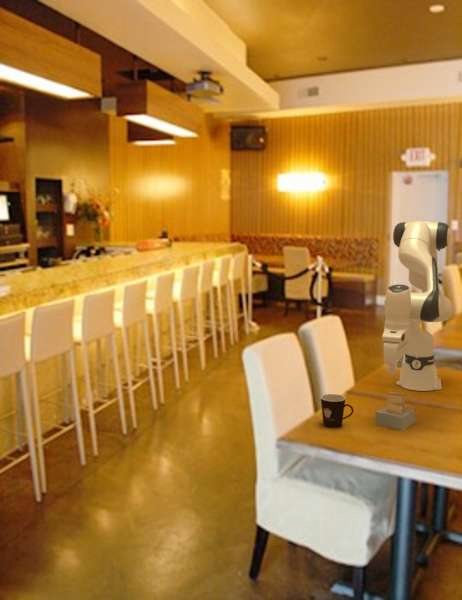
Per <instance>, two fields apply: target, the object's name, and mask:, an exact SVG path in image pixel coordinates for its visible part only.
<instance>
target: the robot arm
mask: <svg viewBox="0 0 462 600" xmlns="http://www.w3.org/2000/svg"><path fill="white" fill-rule="evenodd" d="M451 238H452V232H451V229H450V226H449V225H448V223H445V222H440V221H438V222H435V221H425V220H424V221H423V220H422V221H420V220H416V221H410V222H408V221H407V222H406V221H404V222H399V223H397V224H396V225H395V226H394V229H393V231H392V241H393V244H394V245H395V246H396V247H397V248H398V259H399V262H400V263H401V264H402V265H403V266H404V267H405V268H406V269H408V282H409V284H411V286H413V287H414V288H416V289H418V290H421V292H413V291H412V292H411V288H410V286H408V285H405V284H393V285H389V286H388V288H387V290H386V294H385V300H384V313H385V318H384V322H383V323H384V326H383V333H382V336H381V341H382V342H383V348H382V349H383V361H384V363H385V365H388V369H389V375H391V376H395V375H396V374H397V369H400V376H399V380H397V381H396V382H395V384H396V385H398V386H400V387H402V388H404V389H407V390H410V391H417V392H427V391H428V392H429V391H438V390H442V388H443V387H442V381H441V380H442V379H441V378H440V377H438V376H437V373H438V371H437V370H438V369H437V368H436V365H435V355H434V345H435V344H434V342H435V341H434V336H433V334H431V333H430V332H429V331H427V330H425V329H423V328H421V323H439V322H445V321H448V320H450V318H451V317H452V315H453V312H454V306H453V304H452V301H451V300H450V299H449V297H447V296H446V295H445V294H443V292H442V290H441V289H440V283H439V270H438V252H440V251H441V250H444V249H446V248H447V247H448V246H449V244H450V241H451Z"/></svg>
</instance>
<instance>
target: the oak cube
mask: <svg viewBox="0 0 462 600" xmlns="http://www.w3.org/2000/svg"><path fill="white" fill-rule="evenodd" d="M386 398H387V399H386V406H387V412H389V413H397V414H402V412H403V411H404V408H405V393H404V392H396V391H395V392H394V391H389V393H388V394H387V396H386Z"/></svg>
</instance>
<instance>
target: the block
mask: <svg viewBox="0 0 462 600" xmlns="http://www.w3.org/2000/svg"><path fill="white" fill-rule="evenodd" d="M415 415H416V410H415V409H411V408H406V407H404V411H403V412H402V414H397V413H389V412H387V405H386V406H384V407H382V408H380V409H377V410H376V412H375V425H376V426H381V427H385V428H388V429H393V430H397V431H398V430H399V431H402V432H403V431H405V429H407V428H409V427H411V426H412V425H414V424H415V423H416V419H415V418H416V416H415Z"/></svg>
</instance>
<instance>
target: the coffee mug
mask: <svg viewBox="0 0 462 600" xmlns="http://www.w3.org/2000/svg"><path fill="white" fill-rule="evenodd" d="M320 405H321V412H322V413H321V415H322V421H323V422H322V423H323V426H324V427H326V428H329V429H339V428H341V427H342V426H343V420H345V419H348V418H350V417H351V416H352V415H353V413H354V408H353V406H352V405H350V403H349V404H348V403H346V397H345V396H344V395H341V394H337V393H328V394H323V395H321V396H320ZM346 407H349V408H350V410H351V412H350V413H349V414H348V415H346V416H344V410H345V408H346Z"/></svg>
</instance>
